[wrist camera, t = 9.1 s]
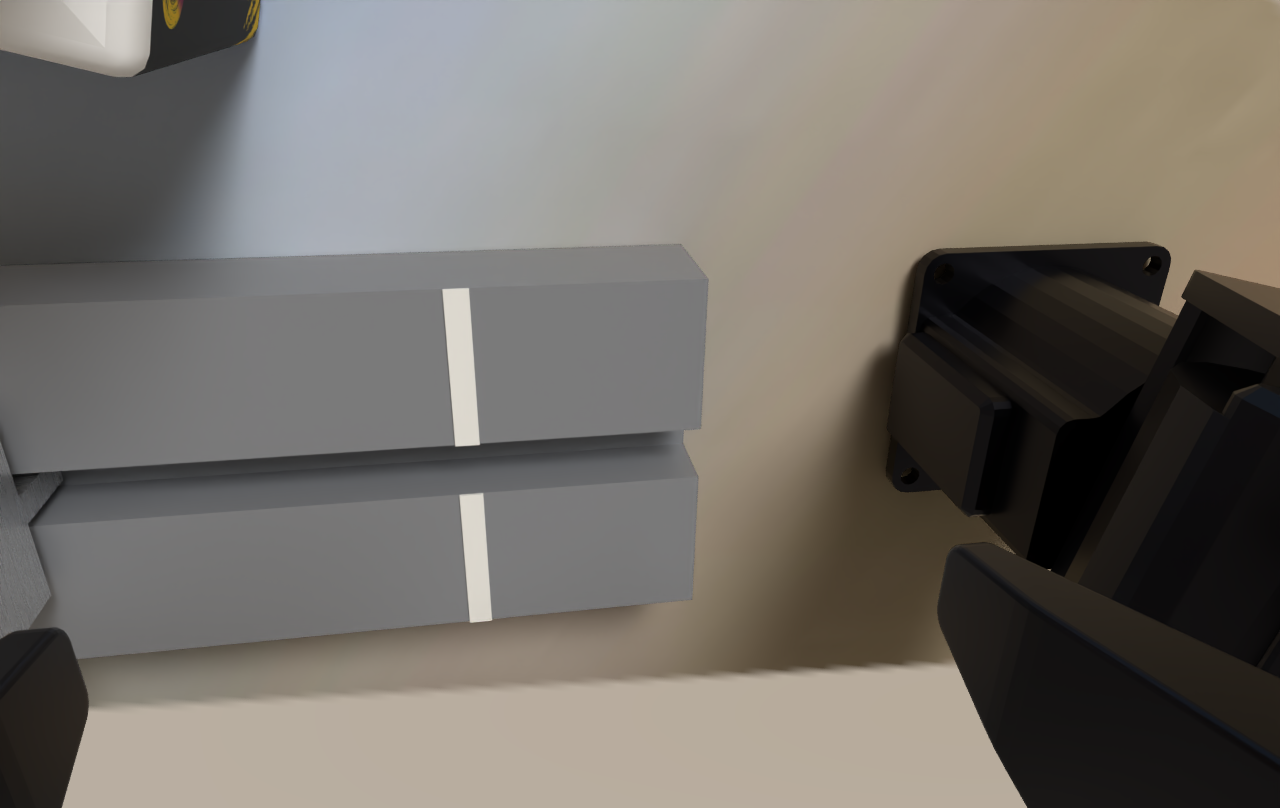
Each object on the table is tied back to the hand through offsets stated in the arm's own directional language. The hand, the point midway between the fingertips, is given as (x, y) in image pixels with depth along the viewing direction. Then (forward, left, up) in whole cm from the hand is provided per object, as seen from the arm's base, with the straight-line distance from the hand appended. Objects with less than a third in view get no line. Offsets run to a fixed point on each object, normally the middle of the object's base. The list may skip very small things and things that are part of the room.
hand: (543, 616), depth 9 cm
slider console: (+6, +3, -12) cm, 14 cm away
